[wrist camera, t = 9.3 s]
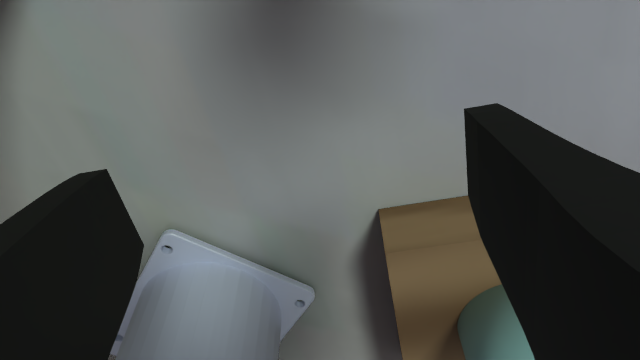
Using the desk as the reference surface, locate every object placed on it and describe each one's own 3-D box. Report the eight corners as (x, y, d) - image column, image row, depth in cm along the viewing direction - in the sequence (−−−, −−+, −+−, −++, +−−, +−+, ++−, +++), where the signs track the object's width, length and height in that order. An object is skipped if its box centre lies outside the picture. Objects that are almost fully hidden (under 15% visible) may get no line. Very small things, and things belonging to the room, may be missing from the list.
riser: (589, 329, 28) (615, 377, 26) (402, 352, 29) (409, 401, 27) (608, 174, 23) (644, 216, 20) (378, 209, 24) (385, 253, 21)
